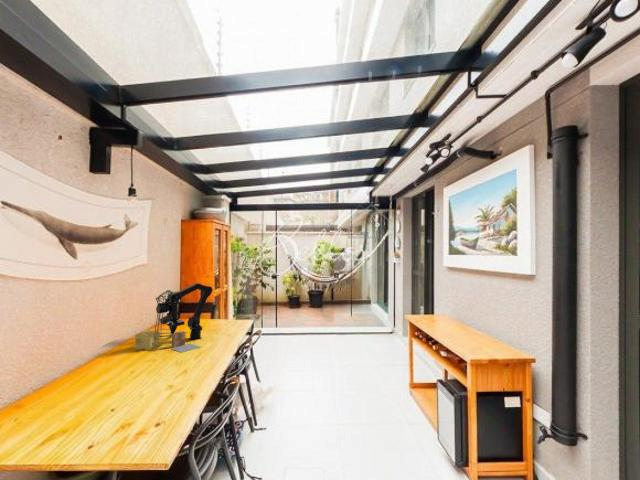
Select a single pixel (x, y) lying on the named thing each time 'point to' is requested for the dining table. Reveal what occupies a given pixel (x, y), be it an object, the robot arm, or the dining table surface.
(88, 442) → the dining table surface
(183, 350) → the grey mat
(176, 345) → the walnut slab
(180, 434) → the dining table surface
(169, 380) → the dining table surface
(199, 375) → the dining table surface
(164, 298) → the geometric lantern
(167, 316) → the robot arm
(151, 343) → the cheese
